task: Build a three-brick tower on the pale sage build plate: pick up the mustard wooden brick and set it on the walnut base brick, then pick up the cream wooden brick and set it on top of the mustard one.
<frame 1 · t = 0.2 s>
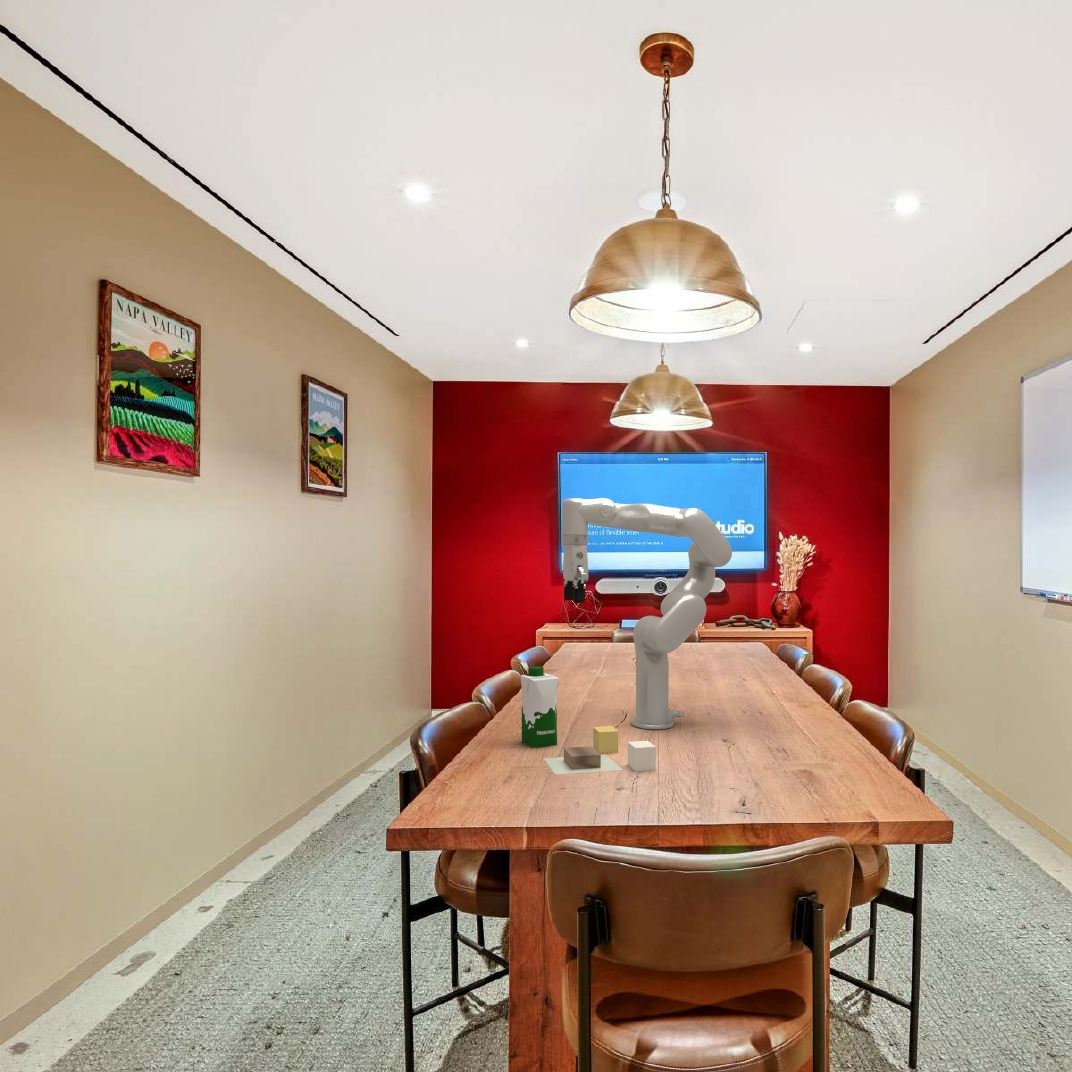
hand: (574, 601, 196), 36 cm above the table, tool pointing down, fingers open, 9 cm apart
mustard brick: (605, 752, 174), on the table
milk carton: (539, 746, 180), on the table
build plate: (581, 766, 163), on the table
cream brick: (641, 770, 160), on the table
walnut base brick: (581, 764, 163), point 1 cm above the table, touching build plate
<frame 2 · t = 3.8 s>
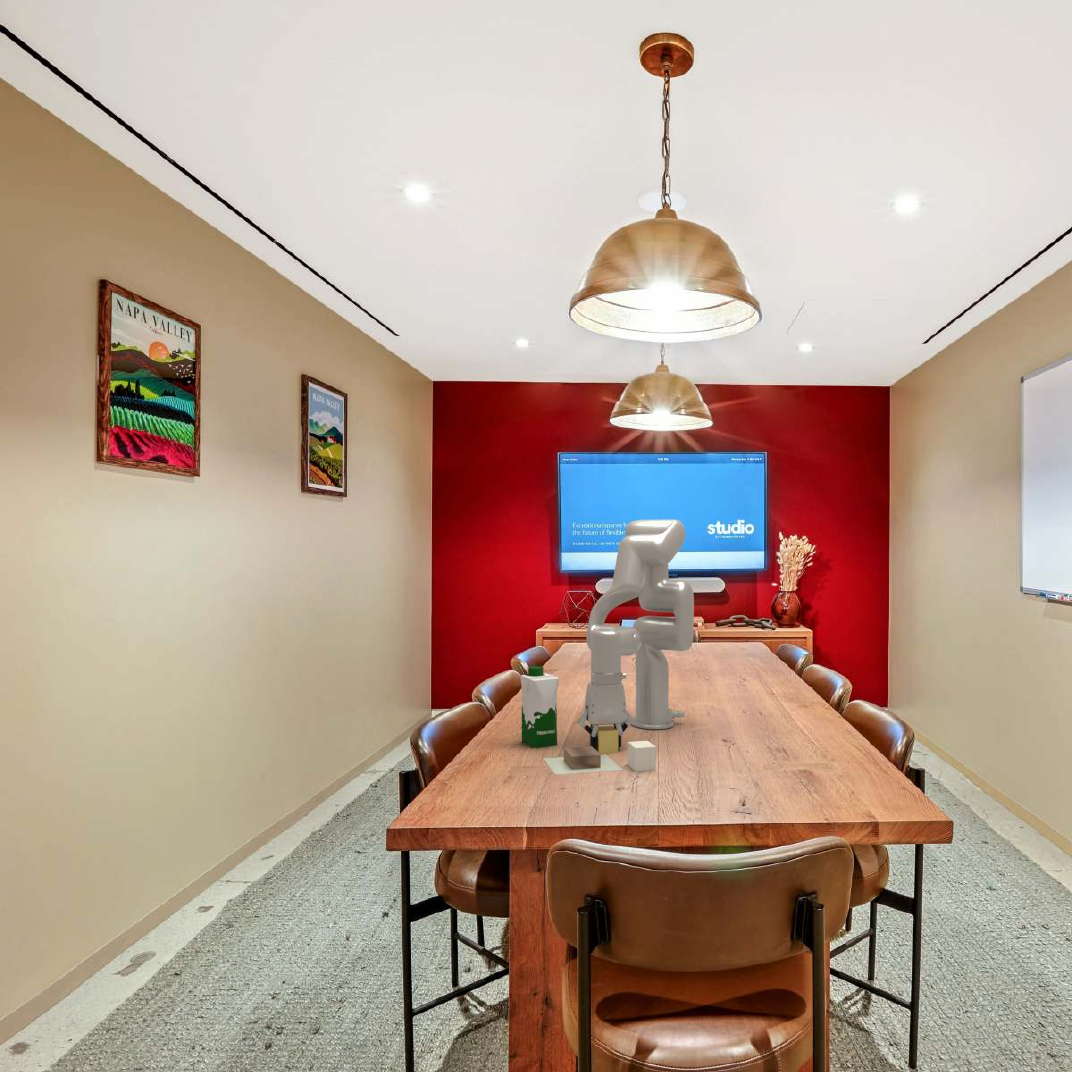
hand: (605, 749, 174), 1 cm above the table, tool pointing down, fingers closed on mustard brick, 5 cm apart
mustard brick: (605, 752, 174), on the table, touching gripper
everything else where it was.
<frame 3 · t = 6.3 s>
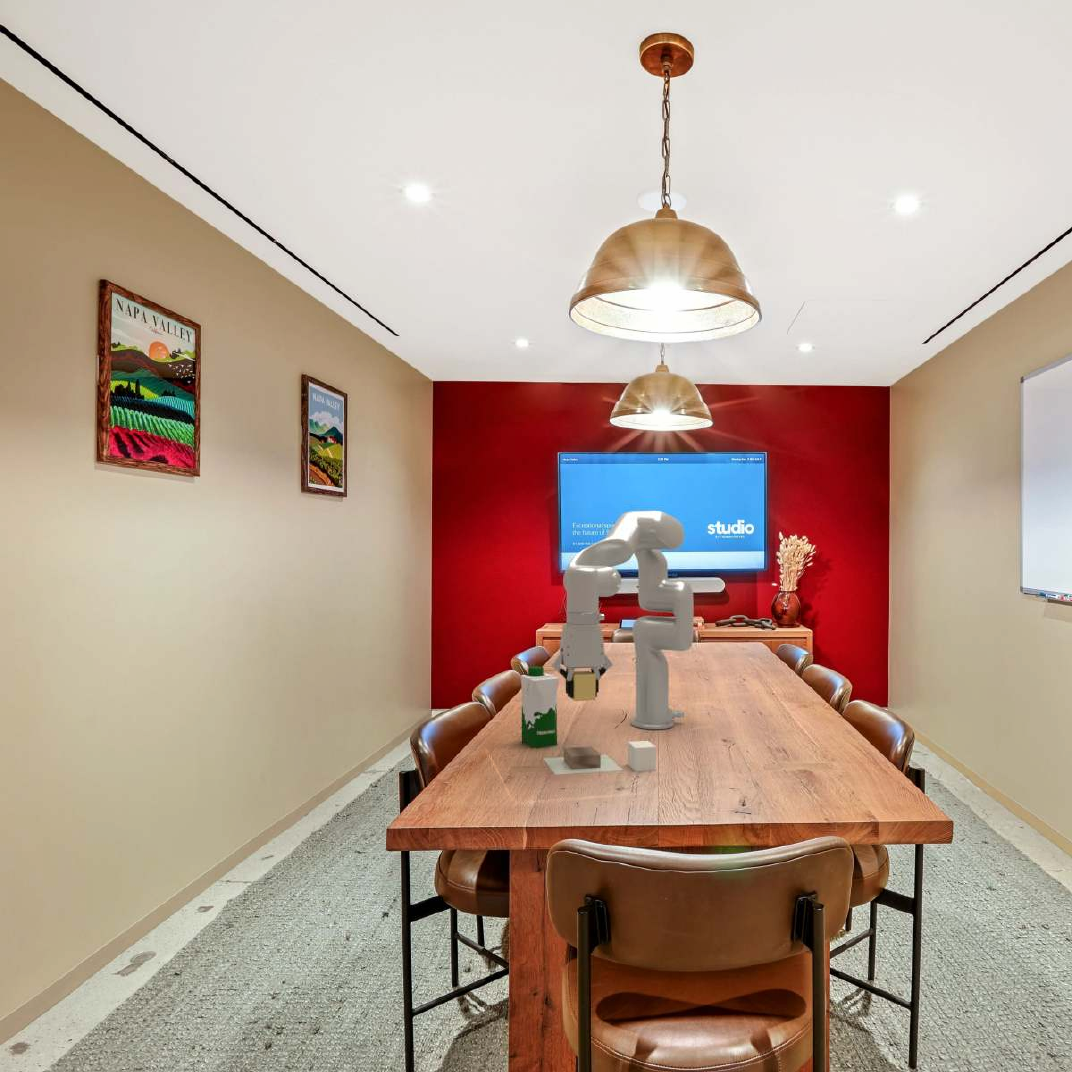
hand: (582, 695, 163), 17 cm above the table, tool pointing down, fingers closed on mustard brick, 5 cm apart
mustard brick: (582, 698, 163), point 16 cm above the table, touching gripper
everything else where it was.
when the fingers open (5 cm above the table, at t = 8.7 s): mustard brick stays where it is, resting on walnut base brick.
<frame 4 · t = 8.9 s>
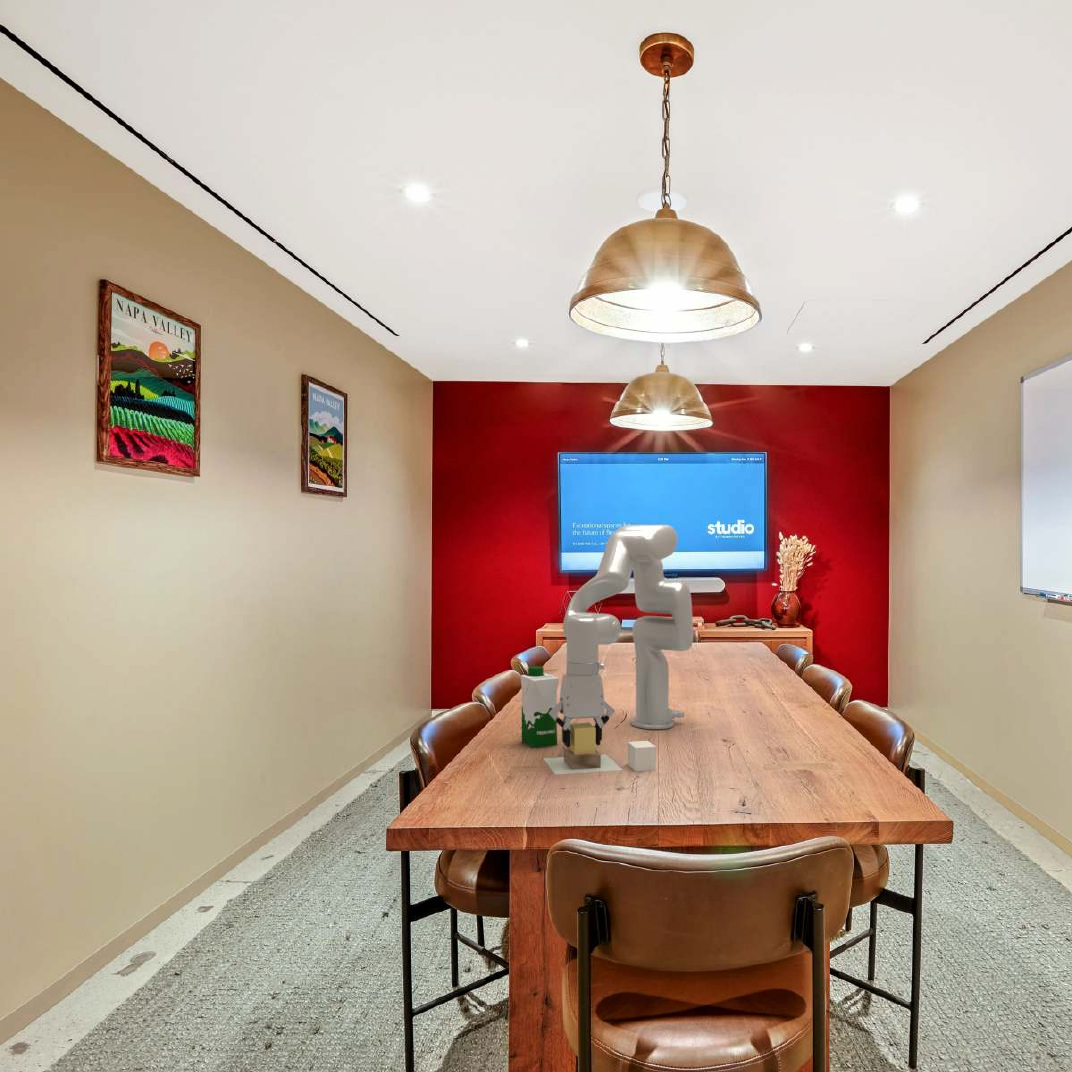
hand: (582, 744, 163), 5 cm above the table, tool pointing down, fingers open, 6 cm apart
mustard brick: (582, 751, 163), point 4 cm above the table, touching walnut base brick
walnut base brick: (581, 764, 163), point 1 cm above the table, touching build plate, mustard brick
everything else where it was.
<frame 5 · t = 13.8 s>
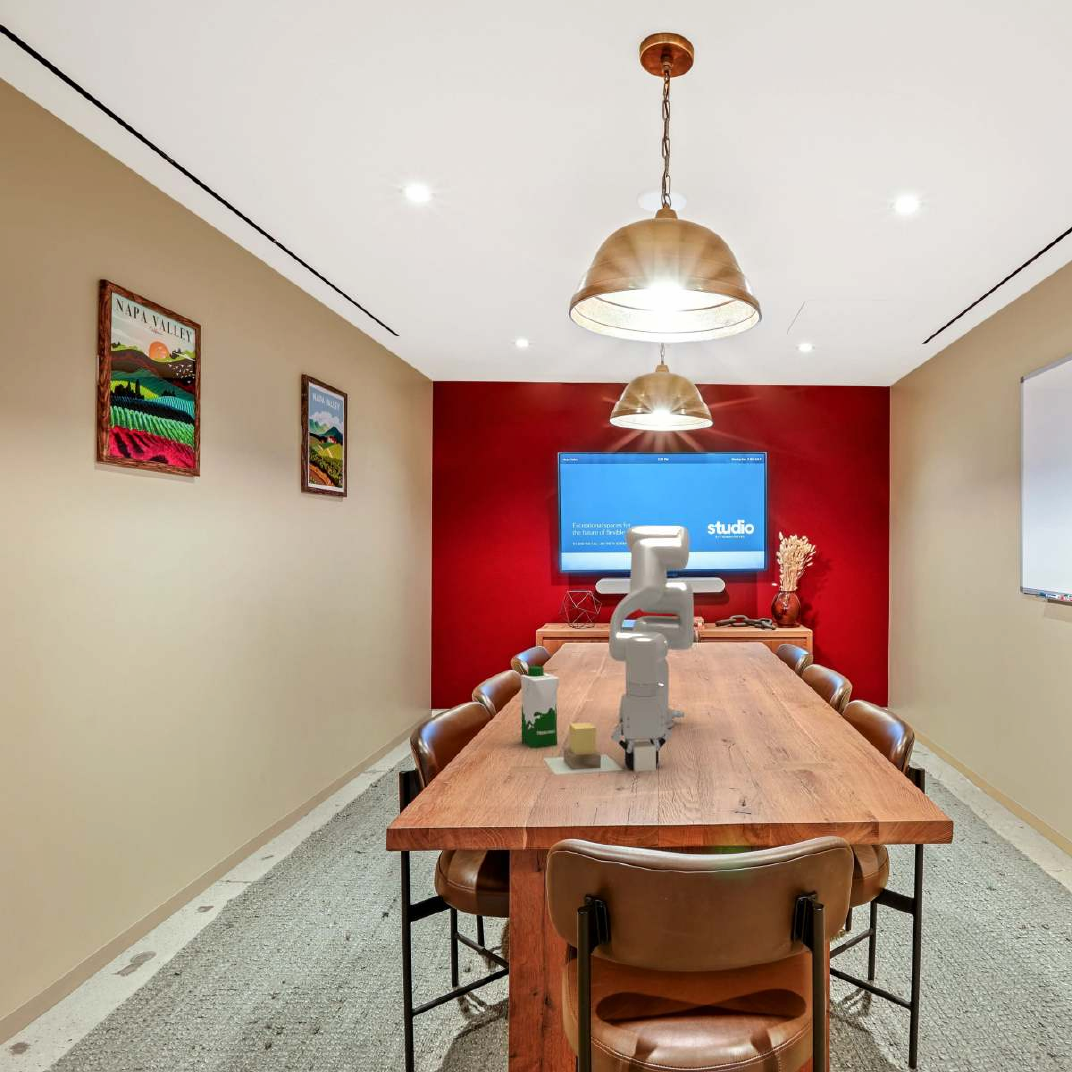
hand: (641, 766, 160), 1 cm above the table, tool pointing down, fingers closed on cream brick, 5 cm apart
cream brick: (641, 769, 160), on the table, touching gripper
everything else where it was.
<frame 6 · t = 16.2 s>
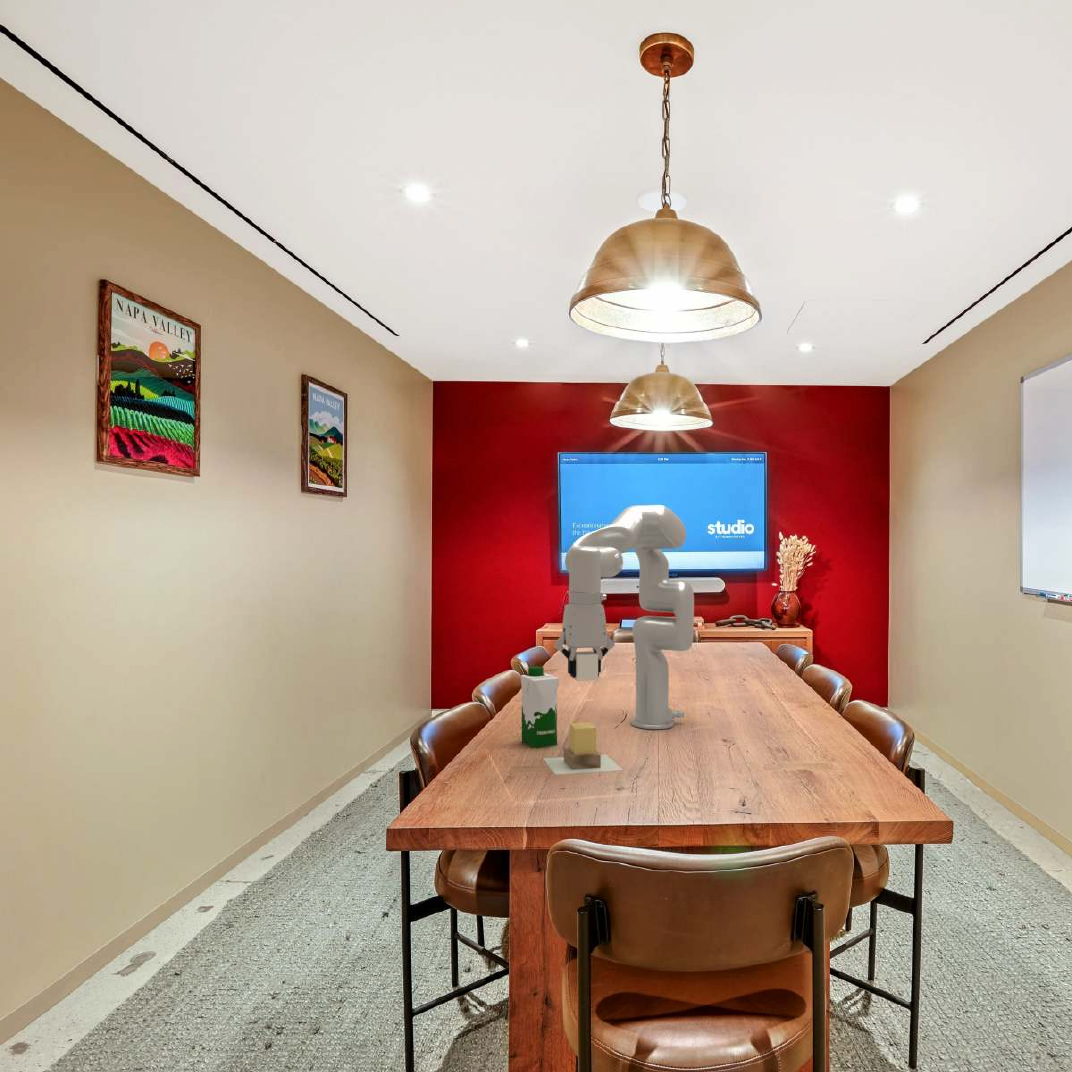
hand: (584, 675, 163), 21 cm above the table, tool pointing down, fingers closed on cream brick, 5 cm apart
cream brick: (584, 678, 163), point 21 cm above the table, touching gripper
everything else where it was.
when the fingers open (11 cm above the table, at t = 18.6 s): cream brick stays where it is, resting on mustard brick.
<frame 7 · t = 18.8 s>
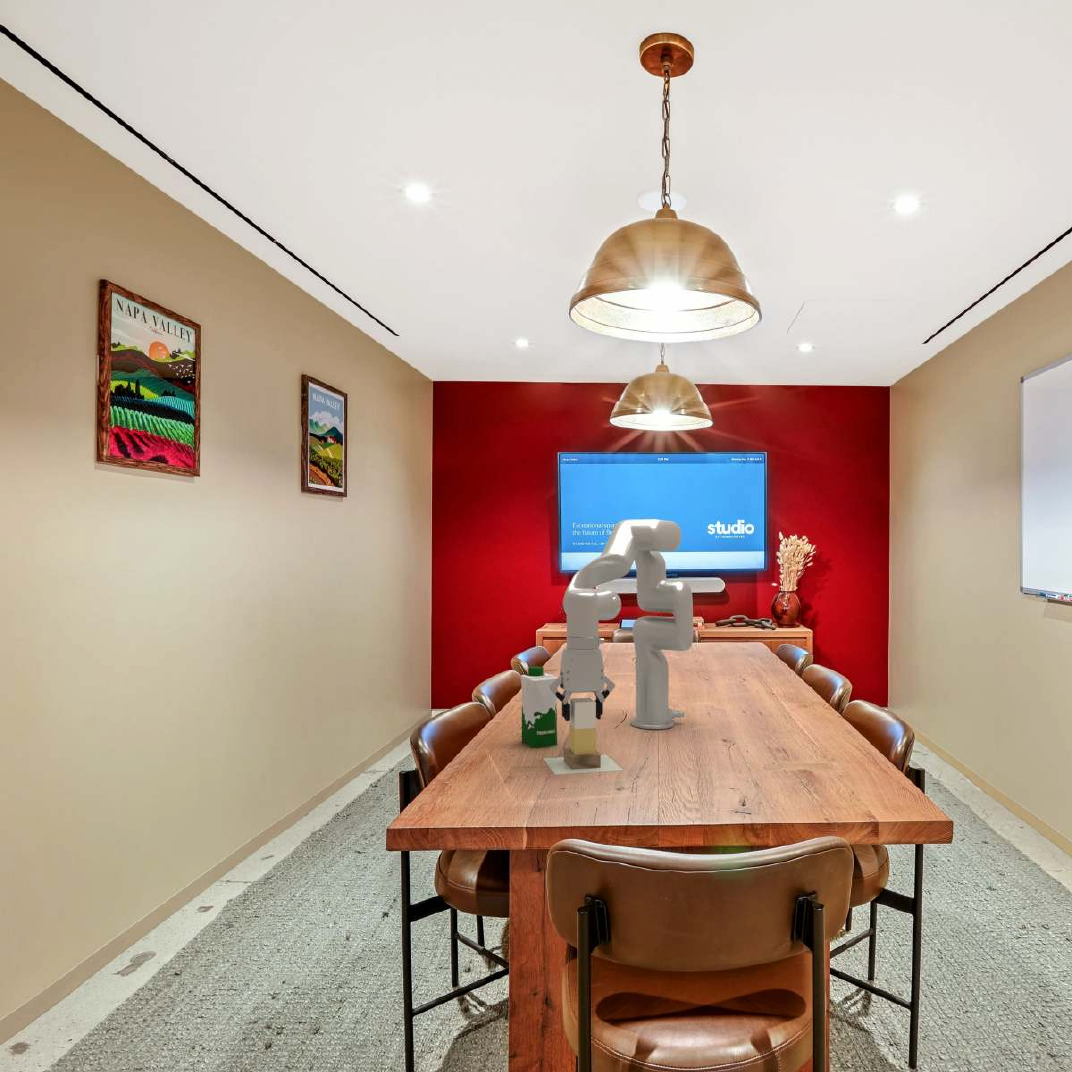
hand: (582, 718, 163), 11 cm above the table, tool pointing down, fingers open, 7 cm apart
mustard brick: (582, 751, 163), point 4 cm above the table, touching cream brick, walnut base brick
cream brick: (582, 725, 163), point 10 cm above the table, touching mustard brick
everything else where it was.
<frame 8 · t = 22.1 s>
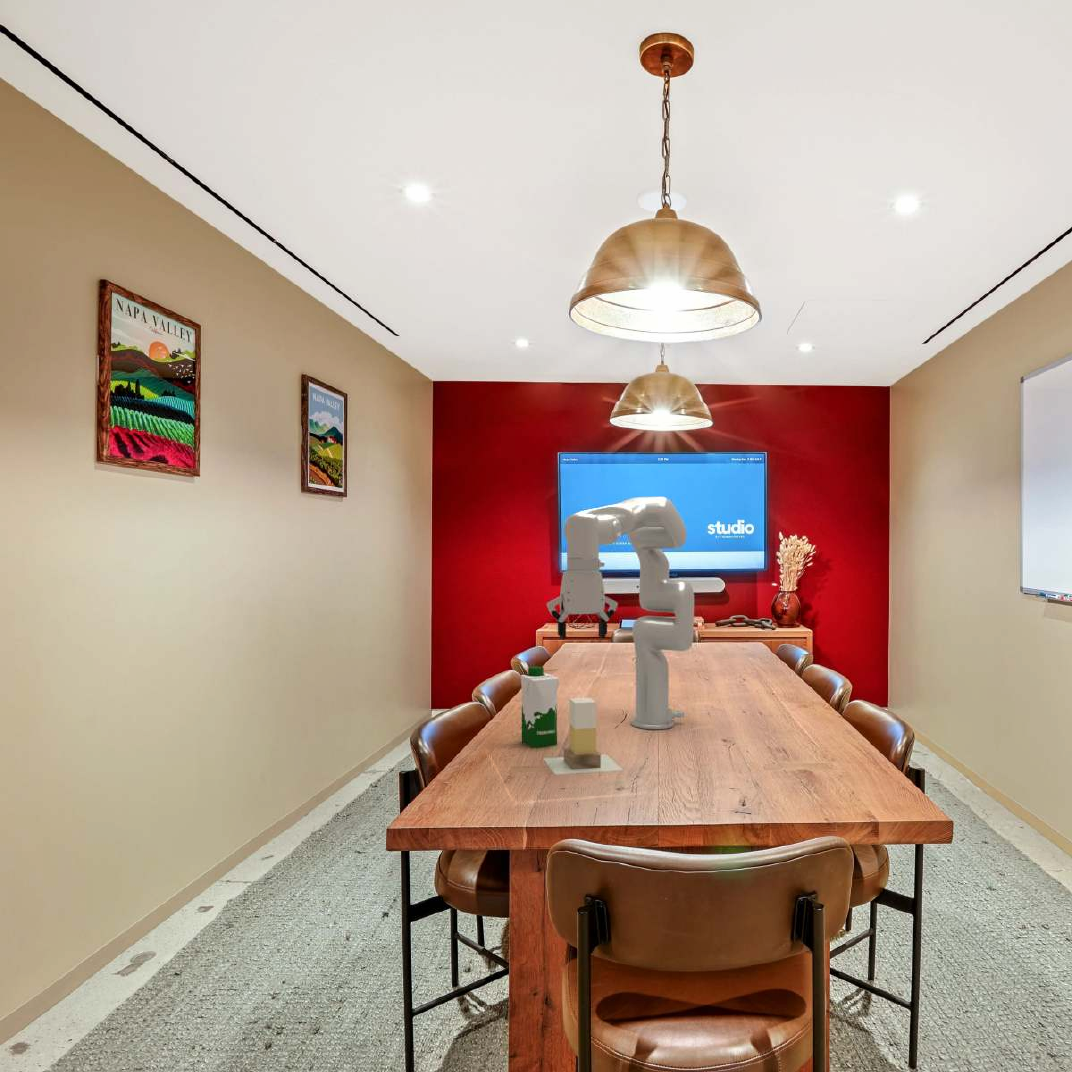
hand: (582, 638, 163), 30 cm above the table, tool pointing down, fingers open, 9 cm apart
nothing on the table moved.
at the end: mustard brick 0.1 cm off-centre on the walnut base brick, point 3.0 cm above the walnut base brick's base; cream brick 0.1 cm off-centre on the mustard brick, point 6.0 cm above the mustard brick's base; cream brick tilted 0° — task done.
